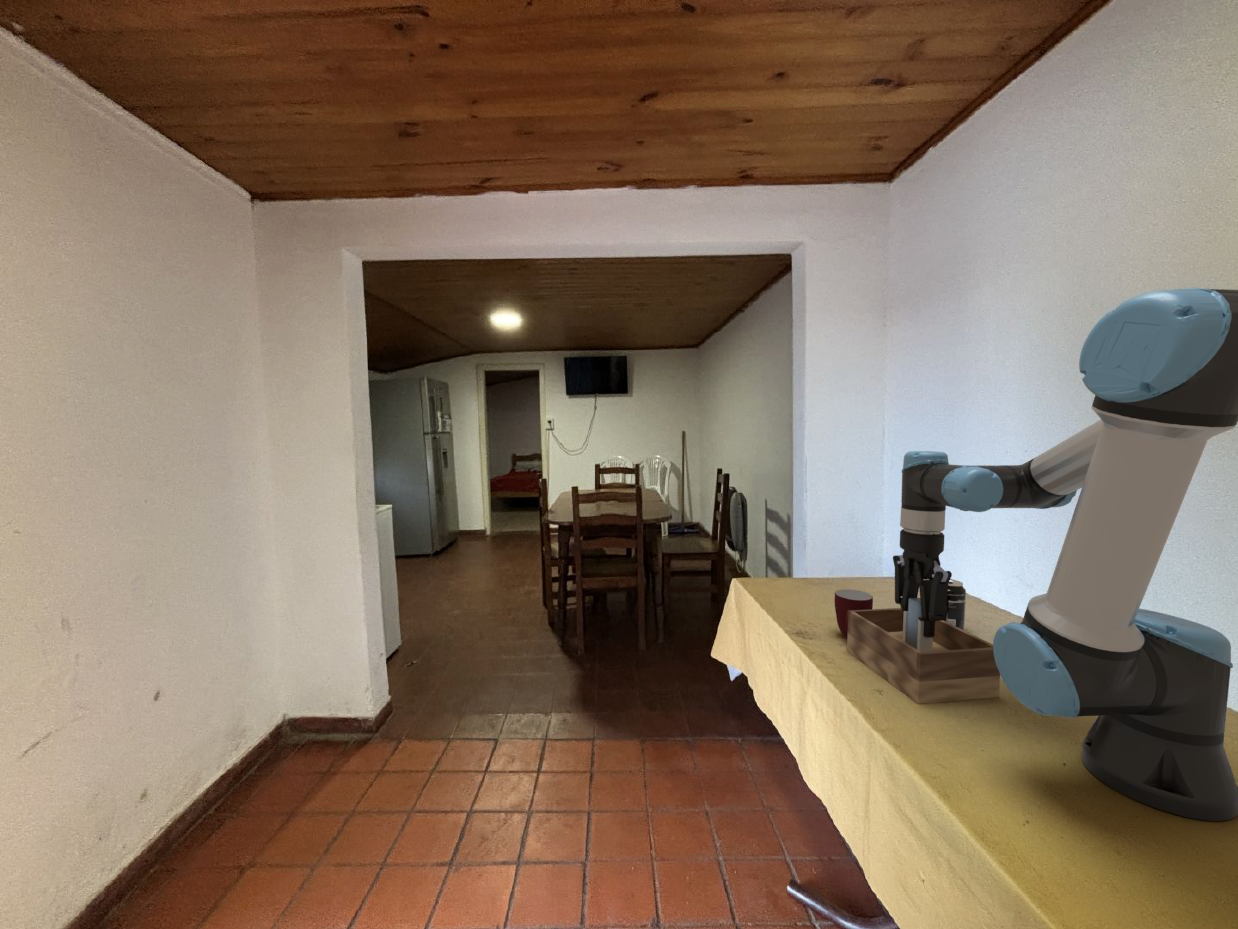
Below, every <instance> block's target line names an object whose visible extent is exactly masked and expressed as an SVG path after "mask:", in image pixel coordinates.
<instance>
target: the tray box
mask: <svg viewBox="0 0 1238 929" xmlns="http://www.w3.org/2000/svg"><path fill="white" fill-rule="evenodd" d="M902 611H903V610H902V609H901V607H892V608H875V609H874V608H872V609H869V610H851V611H848V636H847V638H846V639H847V642H846V643H847V644H846V651H847V652H848V653H849V654H850V655H852V656H853V657H854V658H856V659H857V660H858V661H859V662H861V663H862V664H864V665H865V666H867V667H868V668H869V669H871V670H872V671H873V672H874V673H876V674H877V675H879V676H880V677H881V678H883V679H884V680H885V681H887V682H888V683H889V684H890V685H892V686H894V687H895V688H896V689H898V690H899V691H901V692H902V693H903V694H904V695H906V696H907V697H909V698H910V699H911V700H912V701H913V702H915V704H918V705H921V704H922V705H923V704H933V703H934V704H935V703H944V702H945V703H946V702H947V703H948V702H956V701H957V702H959V701H968V700H971V701H972V700H981V699H992V698H995V699H996V698H999V697H1000V686H1001V685H1000V684H1001V683H1000V682H1001V675H1000V672H999V670H998V668H997V666H996V663H995V659H994V653H993V643H990V642H988V641H986V640H984V639H983V638H980V637H978V636H976V635H975V634H972V633H970V632H968V631H965V629H964V630H962V629H960V628H958V627H956V626H954V625H952V624H950V623H947V622H945V621H943V620H942V621H936V622H935V635H934V637H933V645H932V651H930V652H920V651H919V650H917V649H915V648H914V647H912V646H910V645H909V644H907V643H905V642H904V641H902V638H903V624H902Z"/></svg>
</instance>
